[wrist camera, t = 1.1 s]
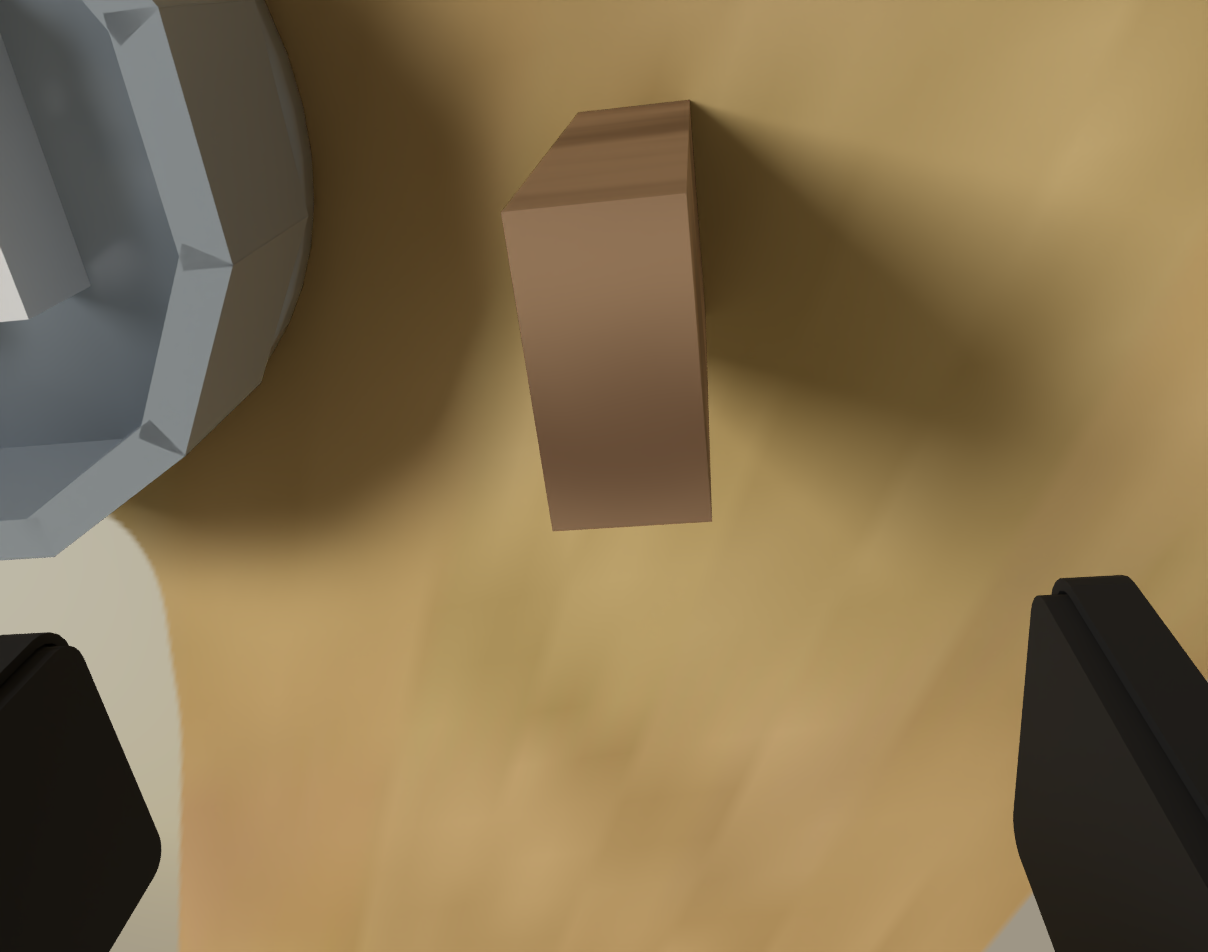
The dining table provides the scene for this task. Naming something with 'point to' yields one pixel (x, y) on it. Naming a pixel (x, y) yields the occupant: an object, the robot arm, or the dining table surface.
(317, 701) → the dining table surface
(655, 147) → the brown rectangular block
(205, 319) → the grey bowl
